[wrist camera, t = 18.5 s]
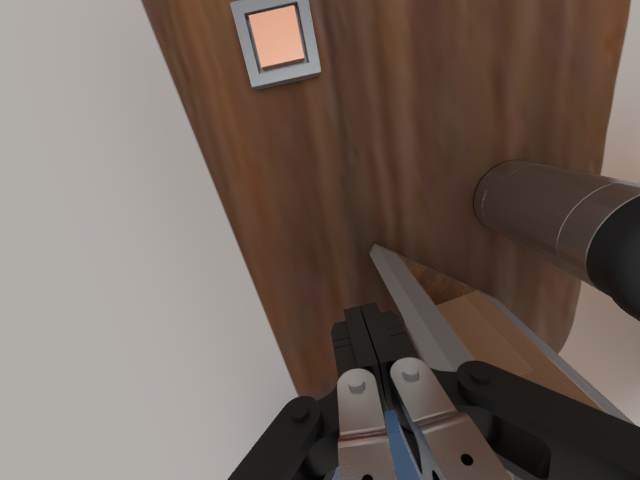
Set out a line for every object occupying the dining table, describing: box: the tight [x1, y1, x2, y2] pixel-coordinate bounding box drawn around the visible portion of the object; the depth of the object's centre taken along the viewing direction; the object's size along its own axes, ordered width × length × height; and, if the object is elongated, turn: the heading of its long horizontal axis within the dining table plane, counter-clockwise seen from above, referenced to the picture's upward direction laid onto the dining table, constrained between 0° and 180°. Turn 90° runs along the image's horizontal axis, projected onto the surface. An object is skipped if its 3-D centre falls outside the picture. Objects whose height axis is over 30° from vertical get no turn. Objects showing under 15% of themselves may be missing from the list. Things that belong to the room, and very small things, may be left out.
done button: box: [249, 5, 304, 71], centre depth 30 cm, size 4×4×2 cm
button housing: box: [230, 0, 321, 90], centre depth 31 cm, size 7×7×4 cm
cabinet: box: [368, 243, 635, 480], centre depth 33 cm, size 21×10×28 cm, turn 64°
